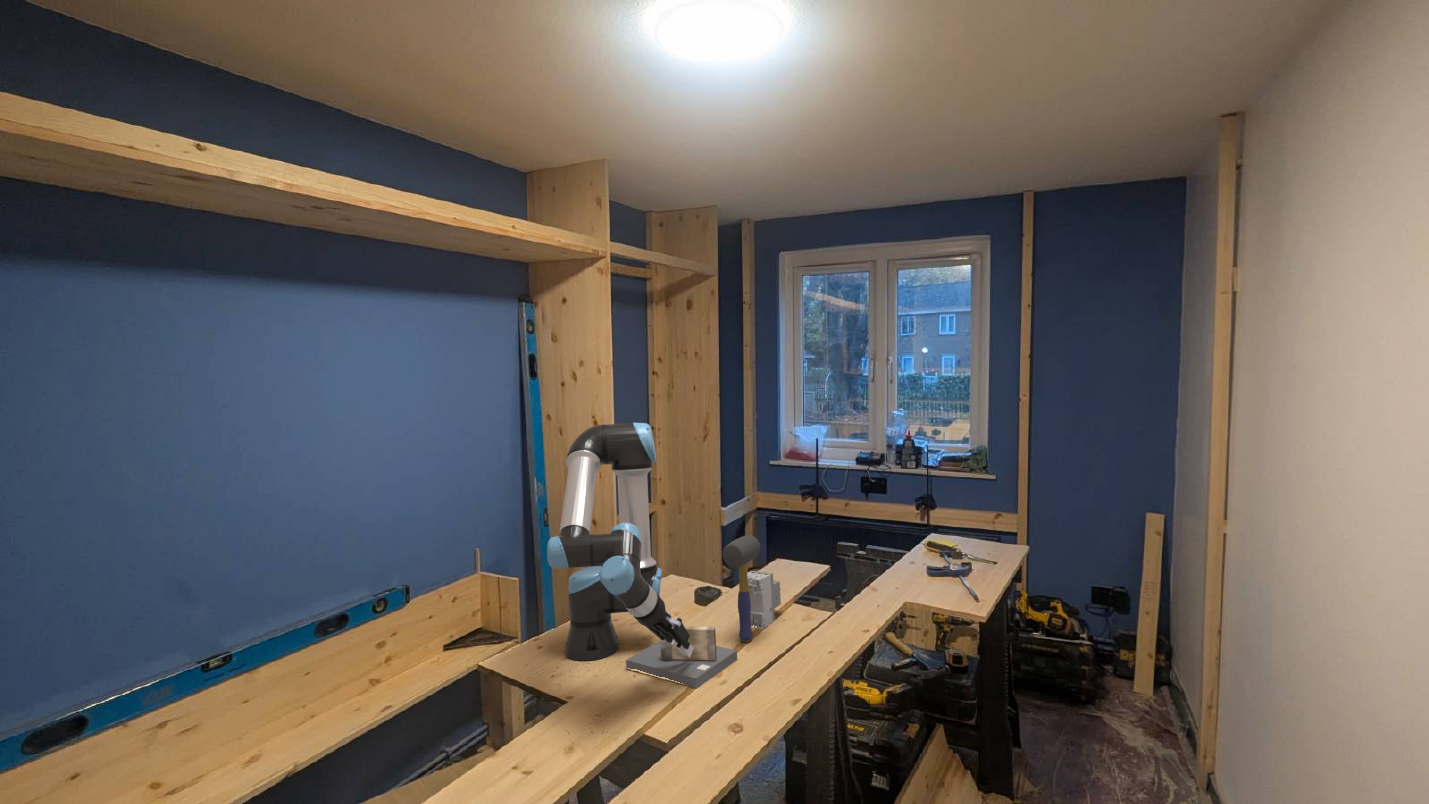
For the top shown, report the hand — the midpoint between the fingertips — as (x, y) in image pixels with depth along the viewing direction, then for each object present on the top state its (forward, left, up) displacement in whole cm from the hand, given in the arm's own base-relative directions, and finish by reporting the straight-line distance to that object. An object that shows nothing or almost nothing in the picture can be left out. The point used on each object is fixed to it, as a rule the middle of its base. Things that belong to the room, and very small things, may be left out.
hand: (688, 651), depth 166 cm
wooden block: (-2, +2, -3) cm, 4 cm away
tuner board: (-5, +3, -6) cm, 8 cm away
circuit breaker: (-2, +42, -6) cm, 42 cm away
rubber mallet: (+2, +25, -6) cm, 26 cm away
